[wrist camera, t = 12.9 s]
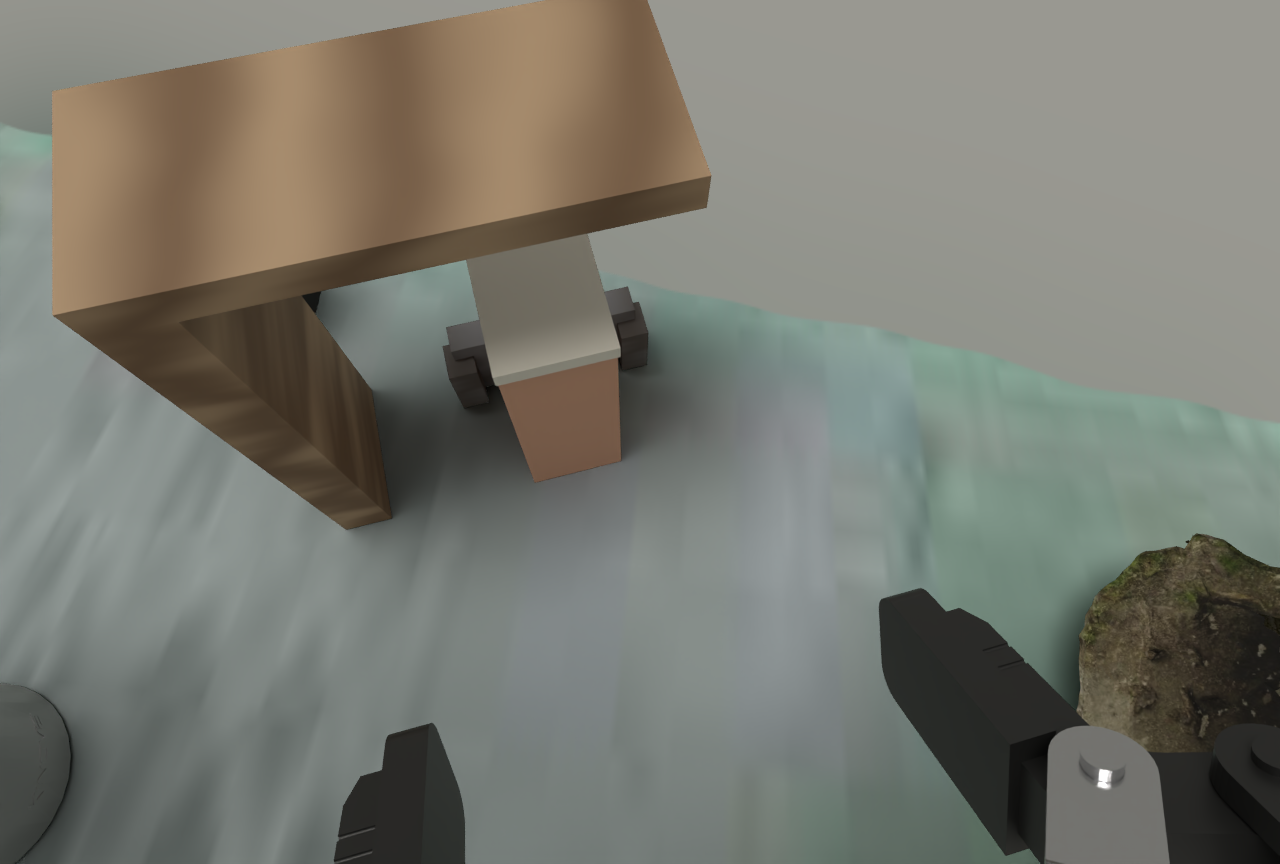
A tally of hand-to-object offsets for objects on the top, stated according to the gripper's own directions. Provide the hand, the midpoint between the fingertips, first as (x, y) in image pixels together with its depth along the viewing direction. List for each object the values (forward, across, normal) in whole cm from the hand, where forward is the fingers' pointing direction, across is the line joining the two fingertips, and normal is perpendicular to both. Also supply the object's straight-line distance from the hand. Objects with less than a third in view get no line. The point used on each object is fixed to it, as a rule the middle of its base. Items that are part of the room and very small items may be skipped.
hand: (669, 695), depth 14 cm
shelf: (+32, +4, +7) cm, 33 cm away
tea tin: (+32, 0, +8) cm, 33 cm away
